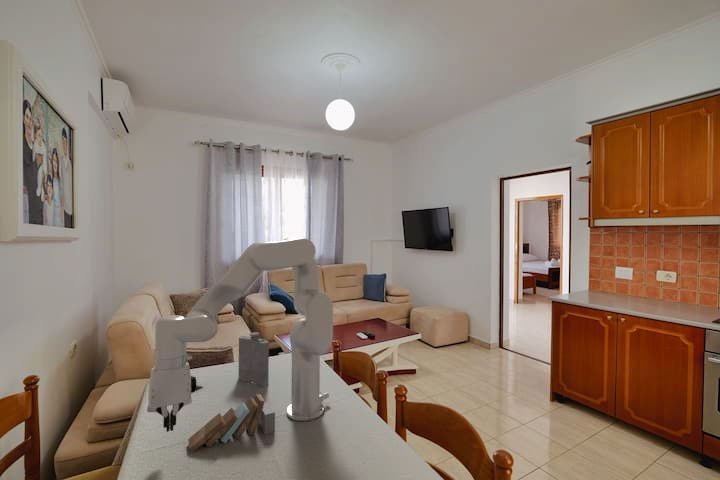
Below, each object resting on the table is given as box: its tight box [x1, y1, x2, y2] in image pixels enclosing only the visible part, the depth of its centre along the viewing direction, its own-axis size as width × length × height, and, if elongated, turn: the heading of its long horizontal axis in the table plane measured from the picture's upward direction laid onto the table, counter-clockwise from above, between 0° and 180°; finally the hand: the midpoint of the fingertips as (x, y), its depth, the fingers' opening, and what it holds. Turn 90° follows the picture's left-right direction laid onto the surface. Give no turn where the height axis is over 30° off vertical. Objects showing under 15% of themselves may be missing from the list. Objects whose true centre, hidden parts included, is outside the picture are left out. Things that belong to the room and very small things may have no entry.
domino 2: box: [204, 407, 238, 448], centre depth 100 cm, size 2×5×10 cm
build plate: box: [190, 375, 204, 394], centre depth 134 cm, size 12×7×5 cm, turn 67°
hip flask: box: [238, 331, 270, 388], centre depth 141 cm, size 16×4×20 cm, turn 60°
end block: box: [258, 401, 276, 435], centre depth 107 cm, size 3×8×6 cm, turn 31°
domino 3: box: [219, 402, 249, 444], centre depth 102 cm, size 2×5×10 cm
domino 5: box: [246, 393, 266, 436], centre depth 105 cm, size 2×5×10 cm, turn 31°
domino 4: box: [233, 397, 258, 440], centre depth 103 cm, size 2×5×10 cm
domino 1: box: [187, 412, 225, 453], centre depth 98 cm, size 2×5×10 cm
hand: (169, 428), depth 93 cm, fingers closed
